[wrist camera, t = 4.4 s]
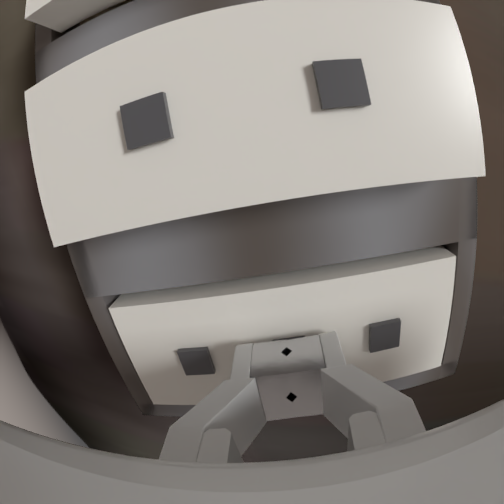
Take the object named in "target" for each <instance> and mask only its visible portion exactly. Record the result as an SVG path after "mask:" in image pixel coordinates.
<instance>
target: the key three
mask: <svg viewBox="0 0 504 504" xmlns="http://www.w3.org/2000/svg"><path fill="white" fill-rule="evenodd" d="M455 266H456V255H454V254H453V253H451V252H450V251H448V250H447V249H445V248H444V247H443V246H441V245H439V246H434V247H428V248H423V249H417V250H412V251H406V252H401V253H395V254H389V255H384V256H378V257H372V258H366V259H360V260H355V261H349V262H343V263H336V264H330V265H324V266H318V267H312V268H305V269H299V270H293V271H286V272H280V273H273V274H266V275H260V276H253V277H246V278H239V279H232V280H225V281H218V282H211V283H204V284H196V285H189V286H182V287H174V288H166V289H159V290H151V291H143V292H135V293H126V294H121V295H120V296H119V297H118V298H117V299H116V300H115V302H114V303H113V304H112V305H111V306H110V307H109V308H108V309H109V311H110V314H111V316H112V319H113V321H114V323H115V326H116V328H117V330H118V333H119V335H120V337H121V340H122V342H123V344H124V346H125V349H126V351H127V353H128V355H129V357H130V359H131V361H132V363H133V366H134V368H135V370H136V372H137V374H138V376H139V378H140V380H141V382H142V384H143V385H144V387H145V389H146V391H147V393H148V395H149V397H150V399H151V401H152V402H153V404H159V405H197V404H198V403H199V402H200V401H201V400H203V399H204V398H205V397H206V396H207V395H208V394H209V393H211V392H212V391H213V390H214V389H215V388H216V387H217V386H219V385H220V384H221V383H222V382H223V381H224V380H230V374H231V369H232V363H233V358H234V352H235V347H236V346H237V345H240V344H249V343H253V344H254V343H259V342H269V341H278V340H289V339H295V338H302V337H308V336H314V335H319V334H322V333H327V332H332V331H335V332H337V335H338V339H339V342H340V345H341V348H342V351H343V355H344V358H345V361H346V364H353V365H354V366H356V367H358V368H359V369H361V370H363V371H365V372H366V373H368V374H370V375H371V376H373V377H375V378H376V379H378V380H380V381H382V382H385V381H389V380H393V379H397V378H401V377H405V376H409V375H412V374H416V373H419V372H423V371H426V370H430V369H433V368H436V367H439V366H441V362H442V358H443V353H444V348H445V343H446V337H447V332H448V326H449V319H450V313H451V305H452V297H453V288H454V278H455Z"/></svg>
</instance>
